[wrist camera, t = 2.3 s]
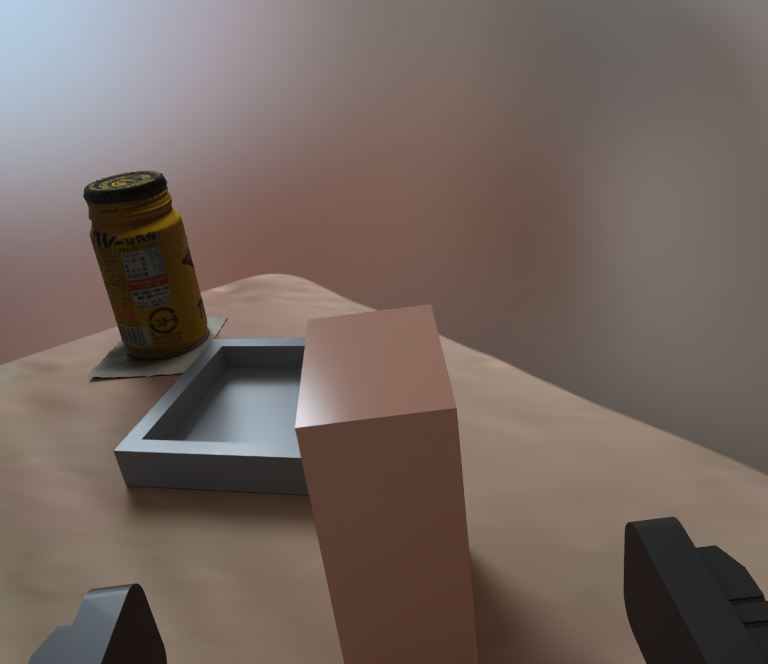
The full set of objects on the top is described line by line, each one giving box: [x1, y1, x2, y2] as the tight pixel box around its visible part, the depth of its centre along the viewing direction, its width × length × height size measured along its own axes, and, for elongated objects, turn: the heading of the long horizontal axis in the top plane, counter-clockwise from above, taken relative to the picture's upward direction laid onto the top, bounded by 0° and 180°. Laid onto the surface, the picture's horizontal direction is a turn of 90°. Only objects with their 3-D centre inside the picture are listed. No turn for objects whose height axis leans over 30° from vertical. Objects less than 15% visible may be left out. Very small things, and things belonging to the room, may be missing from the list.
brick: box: [295, 304, 479, 664], centre depth 25 cm, size 4×7×11 cm, turn 2°
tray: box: [114, 338, 309, 495], centre depth 40 cm, size 12×12×2 cm
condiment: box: [83, 171, 227, 378], centre depth 49 cm, size 7×8×12 cm
